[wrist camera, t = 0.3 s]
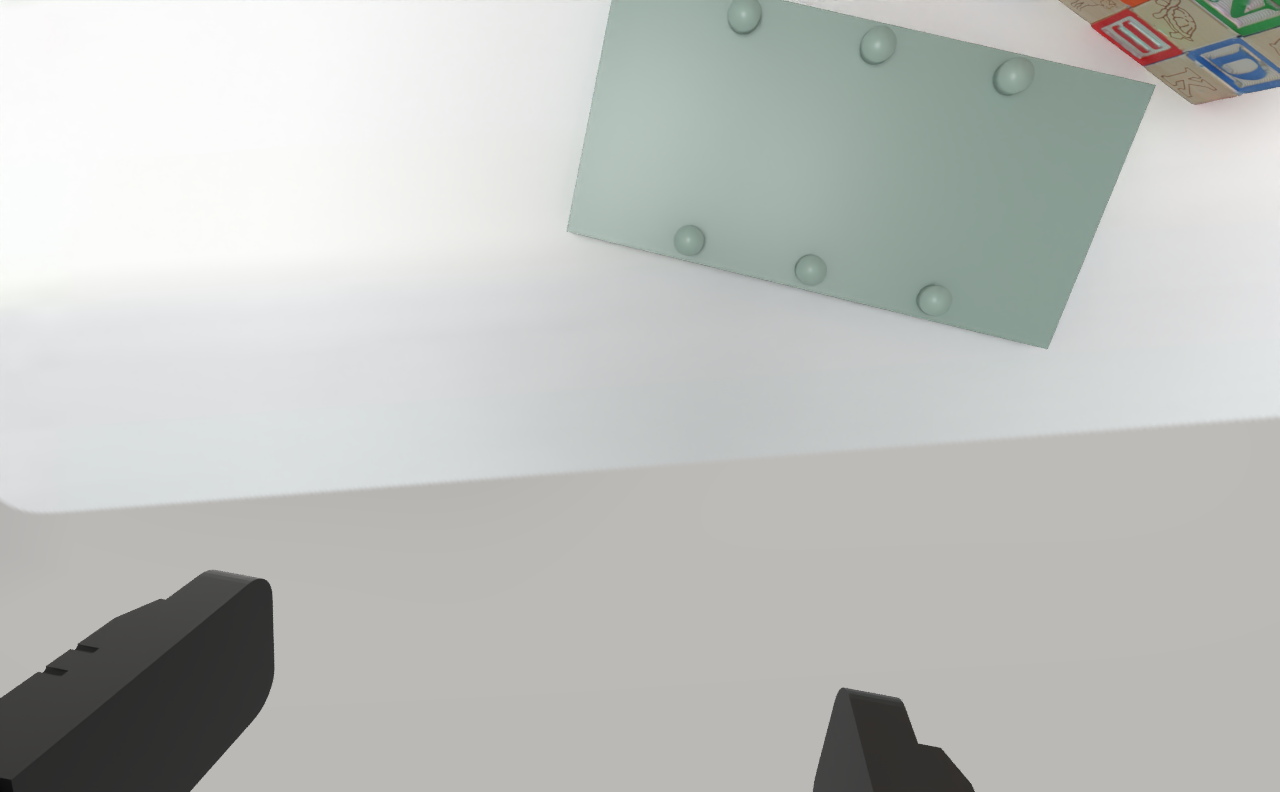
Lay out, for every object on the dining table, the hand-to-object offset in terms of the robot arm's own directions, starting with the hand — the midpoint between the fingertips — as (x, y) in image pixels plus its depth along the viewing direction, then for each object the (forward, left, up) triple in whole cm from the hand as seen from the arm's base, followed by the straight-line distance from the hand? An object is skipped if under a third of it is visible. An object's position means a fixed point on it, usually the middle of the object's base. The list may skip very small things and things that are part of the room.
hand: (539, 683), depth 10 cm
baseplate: (-10, +6, -28) cm, 30 cm away
